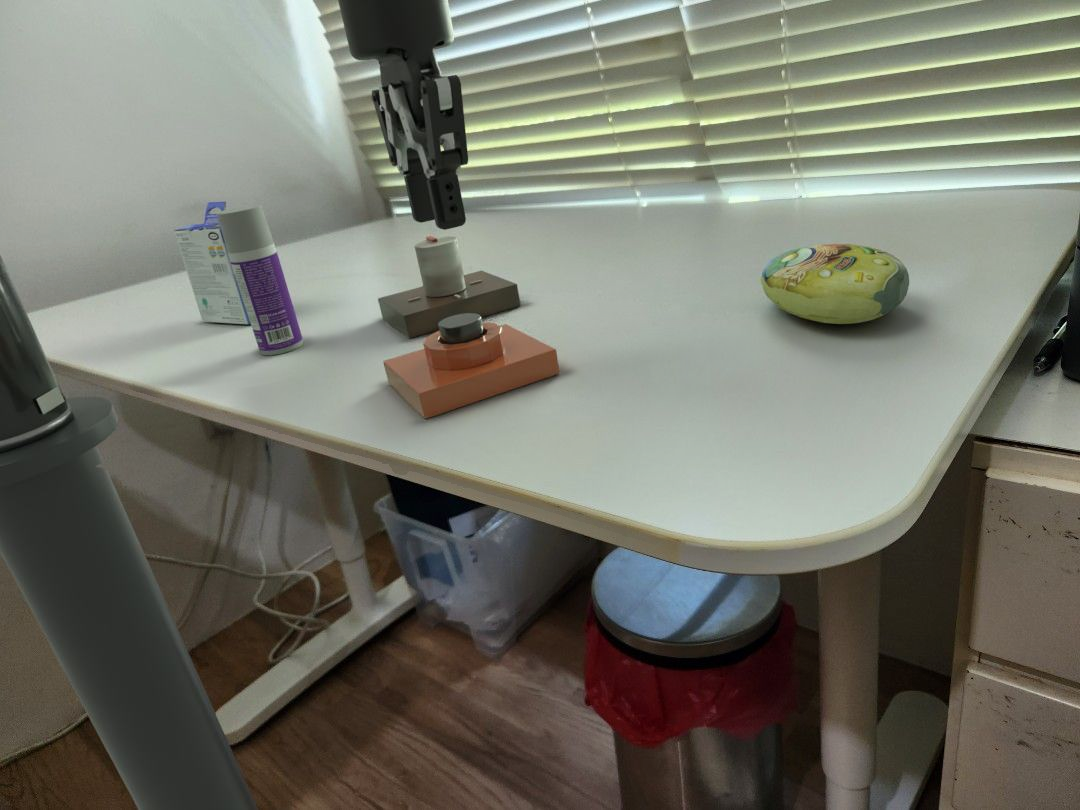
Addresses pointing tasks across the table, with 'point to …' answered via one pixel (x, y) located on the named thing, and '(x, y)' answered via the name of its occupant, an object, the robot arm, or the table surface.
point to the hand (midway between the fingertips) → (439, 222)
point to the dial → (440, 266)
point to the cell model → (836, 283)
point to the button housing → (469, 369)
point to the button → (461, 328)
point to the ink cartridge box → (211, 270)
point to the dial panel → (448, 304)
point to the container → (260, 279)
